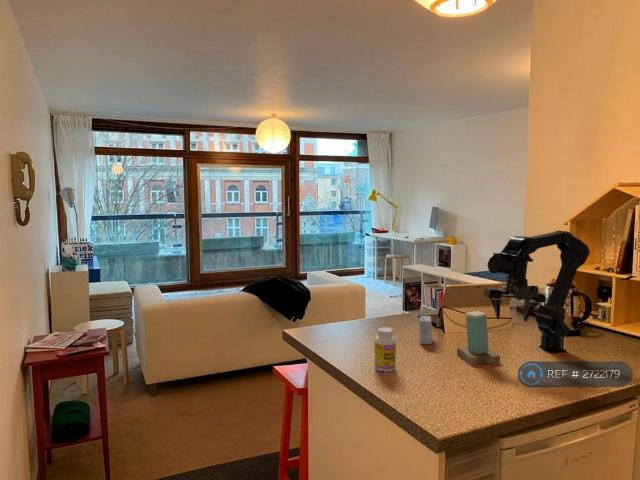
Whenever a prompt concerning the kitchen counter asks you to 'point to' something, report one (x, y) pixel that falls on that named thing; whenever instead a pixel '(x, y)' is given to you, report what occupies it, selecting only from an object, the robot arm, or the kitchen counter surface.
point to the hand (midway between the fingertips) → (511, 320)
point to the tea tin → (477, 332)
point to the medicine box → (425, 330)
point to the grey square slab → (478, 357)
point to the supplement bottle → (385, 350)
